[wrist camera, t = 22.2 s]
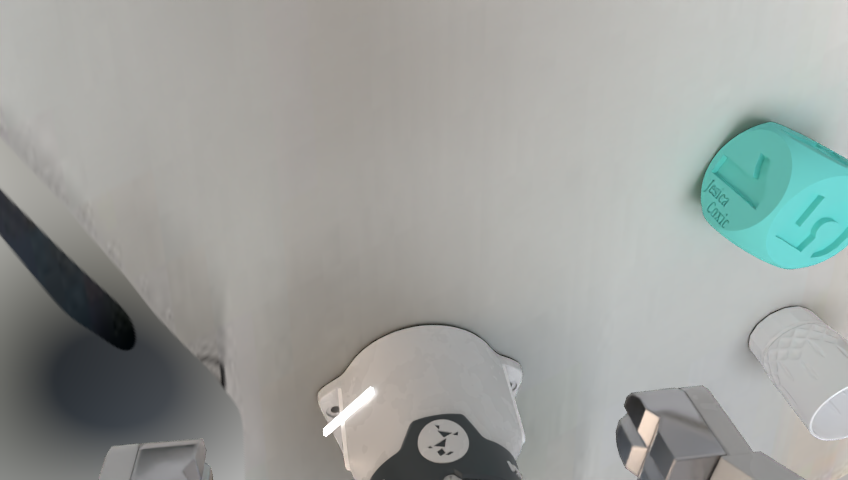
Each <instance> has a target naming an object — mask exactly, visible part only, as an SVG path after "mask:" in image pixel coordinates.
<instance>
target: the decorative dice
mask: <svg viewBox="0 0 848 480" xmlns="http://www.w3.org/2000/svg"><path fill="white" fill-rule="evenodd" d="M701 206H702V211H703V215H704V217H705V219H706V220H707V221H708V223H709V224H710V225H711V226H712V227H713V228H714V229H716V230H717V231H718V232H719V233H720V234H721V235H723V236H724V237H725V238H727V239H728V240H729V241H731V242H732V243H734V244H735V245H737V246H738V247H740V248H741V249H743V250H744V251H746V252H748V253H750V254H751V255H753V256H755V257H757V258H759V259H761V260H763V261H765V262H767V263H769V264H772V265H774V266H777V267H780V268H783V269H796V268H804V267H808V266H812V265H815V264H818V263H820V262H823V261H825V260H827V259H829V258H831V257H832V256H834V255H836V254H837V253H838V252H840V251H841V250H843V249H844V248H845V247H846V246H847V245H848V160H847V159H846V158H844V157H842V156H841V155H839V154H837V153H835V152H834V151H832V150H830V149H828V148H826V147H825V146H823V145H821V144H819V143H817V142H815V141H813V140H811V139H809V138H808V137H806V136H804V135H802V134H800V133H797V132H795V131H793V130H791V129H789V128H787V127H784V126H782V125H780V124H777V123H774V122H767V123H763V124H760V125H757V126H755V127H752V128H750V129H748V130H746V131H744V132H742V133H740V134H739V135H737V136H736V137H734V138H733V139H732V140H730V141H729V142H728V143H727V144H725V145H724V146H723V147H722V148H721V149H720V150H719V152H718V153H717V154H716V155H715V157H714V158H713V160H712V161H711V163H710V165H709V167H708V169H707V171H706V173H705V176H704V179H703V183H702V189H701Z"/></svg>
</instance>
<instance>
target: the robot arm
mask: <svg viewBox="0 0 848 480" xmlns="http://www.w3.org/2000/svg"><path fill="white" fill-rule="evenodd" d="M522 378H523V372H522V368H521V365H520V364H519V363H518V362H516V361H514V360H512V359H510V358H507V357H504V356H501V355H498V354H497V353H496V352H495V351H493V350H492V349H491V348H490V346H489V345H488V344H487V343H486V342H484V341H483V340H482V339H481V338H479V337H478V336H476V335H474V334H473V333H471V332H468V331H466V330H463V329H460V328H456V327H451V326H443V325H424V326H416V327H411V328H406V329H402V330H399V331H396V332H393V333H391V334H388V335H386V336H384V337H382V338H380V339H378V340H376V341H375V342H373V343H372V344H370V345H369V346H367V347H366V348H365V349H364V350H363V351H361V352H360V353H359V354H358V355H357V356H356V358H355V359H354V360H353V361H352V363H351V364H350V365H349V367H348V368H347V369H346V371H345V372H344V373H343V374H342V375H341V376H340V377H338V378H337V379H335V380H333V381H332V382H330V383H329V384H327V385H326V386H324V387H323V388H322V389H321V390H320V391H319V392H318V395H317V396H318V403H319V407H320V409H321V411H322V413H323V415H324V417H325V419H326V421H327V423H328V425H327V426H326V427H325V428H324V429H323V434H324V436H327V435H329V434H330V433H331V432H332V433H333V435H334V437H335V439H336V441H337V443H338V445H339V447H340V449H341V451H342V453H343V455H344V462H345V467H346V470H348V471H351V473H352V476H353V478H354V480H523V477H522V475H521V473H520V471H519V469H518V466H517V463H516V459H517V457H518V456H519V454H520V453H521V450H522V444H524V443H525V433H524V429H523V426H522V422H521V419H520V415H519V412H518V408H517V405H516V402H515V397H516V395H517V392H518V389H519V386H520V384H521V381H522ZM335 406H336V407H335ZM624 407H625V409H626V411H627V414H626V415H625V416H624V417H623V418H621V419H620V420H619V422H618V426H617V430H616V442H617V448H618V451H619V455H620V458H621V460H622V462H623V464H624V466H625V468H626V469H628V470H629V471H630V472H632V473H633V474H634V475H636V476H637V477H638V478H637V480H806V479H804V478H802V477H801V476H799V475H798V474H796V473H794V472H793V471H791V470H789V469H788V468H786V467H785V466H783V465H781V464H780V463H778V462H777V461H775V460H773V459H772V458H770V457H769V456H767V455H765V454H764V453H762V452H761V451H760V452H753V451H752V449H751V448H750V446H749V445H748V444H747V442H746V441H745V439H744V438H743V437H742V435H741V434H740V432H739V431H738V430H737V428H736V427H735V425H734V424H733V423H732V421H731V420H730V419H729V417H728V416H727V414H726V413H725V412H724V410H723V409H722V407H721V406H720V405H719V403H718V402H717V400H716V399H715V398H714V396H713V395H712V393H711V392H710V391H709V390H708V389H707V388H706V387H704V386H703V385H702V386H692V387H682V388H668V389H660V390H651V391H643V392H635V393H631V394H630V395H628V396H627V398H626V401H625V404H624ZM205 456H206V448H205V444H204V441H203V439H191V440H179V441H166V442H153V443H141V444H130V445H119V446H112V447H111V448H110V450H109V452H108V453H107V454H106V457H105V460H104V463H103V466H102V469H101V472H100V476H99V479H98V480H213V474H212V470H211V466H210V465H208V464H207V463H205Z"/></svg>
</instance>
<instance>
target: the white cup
mask: <svg viewBox="0 0 848 480" xmlns="http://www.w3.org/2000/svg"><path fill="white" fill-rule="evenodd" d="M749 348H750V350H751V351H752V353H753V354H754V356H755V357H756V358H757V360H758V361H759V362H760V363H761V365H762V366H763V368H764V370H765V372H766V374H767V375H768V376H769V378H770V379H771V381H772V382H773V384H774V385H775V386H776V388H777V389H778V390H779V392H780V393H781V394H782V396H783V397H784V398H785V400H786V401H787V402H788V404H789V405H790V406H791V408H792V409H793V410H794V412H795V413H796V414H797V416H798V417H799V418H800V420H801V421H802V422H803V424H804V425H805V426H806V428H807V429H808V430H809V432H810V433H811V434H812V435H813V436H814V437H815V438H817V439H820V440H827V441H830V440H839V439H844V438H847V437H848V341H847V340H846V339H844V338H843V337H842V336H841V335H840V334H839V333H838V332H836V331H835V330H834V329H832V328H831V327H829V326H828V325H827V324H826V323H824V322H823V321H822V320H821V319H820V318H819V317H818V316H817V315H815V314H814V313H813V312H812V311H811V310H809V309H806V308H803V307H800V306H797V307H789V308H784V309H782V310H779V311H777V312H775V313H772V314H770V315H769V316H768V317H766V318H765V319H764V320H763V321H761V322H760V323H759V324H758V325H757V326H756V328H755V329H754V331H753V332H752V334H751V335H750V340H749Z"/></svg>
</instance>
